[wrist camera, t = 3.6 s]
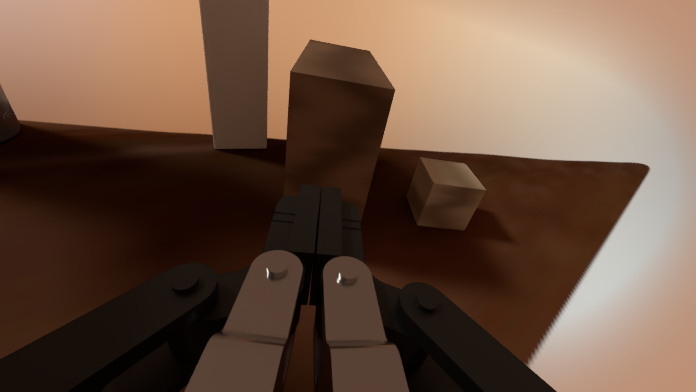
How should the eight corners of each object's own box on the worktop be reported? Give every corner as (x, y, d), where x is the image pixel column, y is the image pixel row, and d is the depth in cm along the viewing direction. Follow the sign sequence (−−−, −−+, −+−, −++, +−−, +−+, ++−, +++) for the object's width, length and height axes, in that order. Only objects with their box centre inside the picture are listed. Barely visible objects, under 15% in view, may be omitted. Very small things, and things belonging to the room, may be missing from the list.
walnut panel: (280, 241, 23) (290, 71, 16) (300, 156, 35) (310, 39, 28) (355, 248, 24) (397, 90, 16) (348, 163, 36) (371, 51, 29)
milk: (212, 129, 37) (188, -108, 25) (260, 129, 40) (259, -86, 27) (214, 150, 33) (185, -126, 20) (268, 149, 35) (270, -98, 23)
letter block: (416, 225, 28) (433, 183, 25) (406, 196, 32) (420, 157, 29) (465, 231, 28) (488, 190, 26) (449, 202, 32) (467, 164, 30)
